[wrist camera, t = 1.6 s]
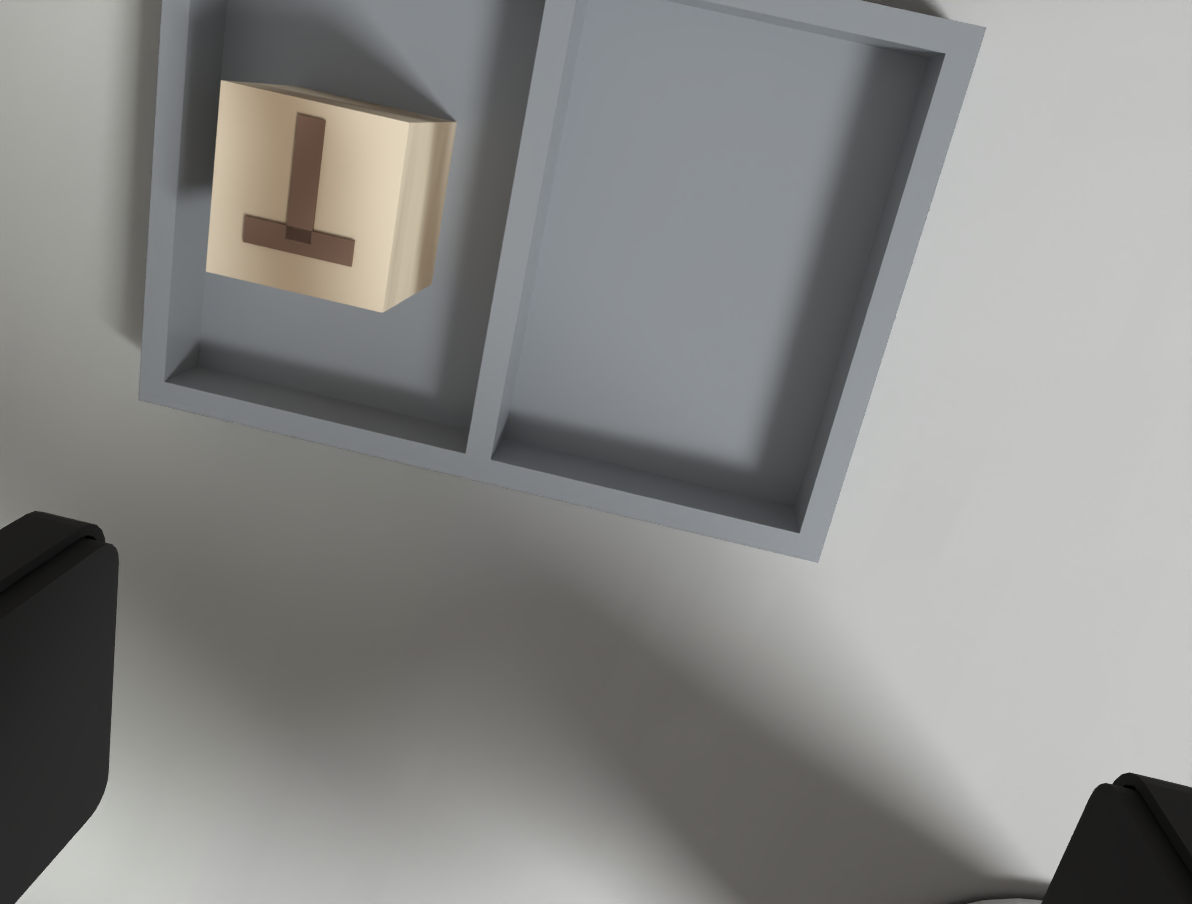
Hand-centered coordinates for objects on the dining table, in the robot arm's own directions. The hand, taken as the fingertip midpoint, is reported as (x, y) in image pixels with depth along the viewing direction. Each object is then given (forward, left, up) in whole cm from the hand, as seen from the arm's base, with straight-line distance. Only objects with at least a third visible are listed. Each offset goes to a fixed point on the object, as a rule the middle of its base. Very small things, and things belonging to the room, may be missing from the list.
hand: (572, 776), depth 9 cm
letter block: (+10, -2, -23) cm, 25 cm away
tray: (+5, -2, -24) cm, 24 cm away
